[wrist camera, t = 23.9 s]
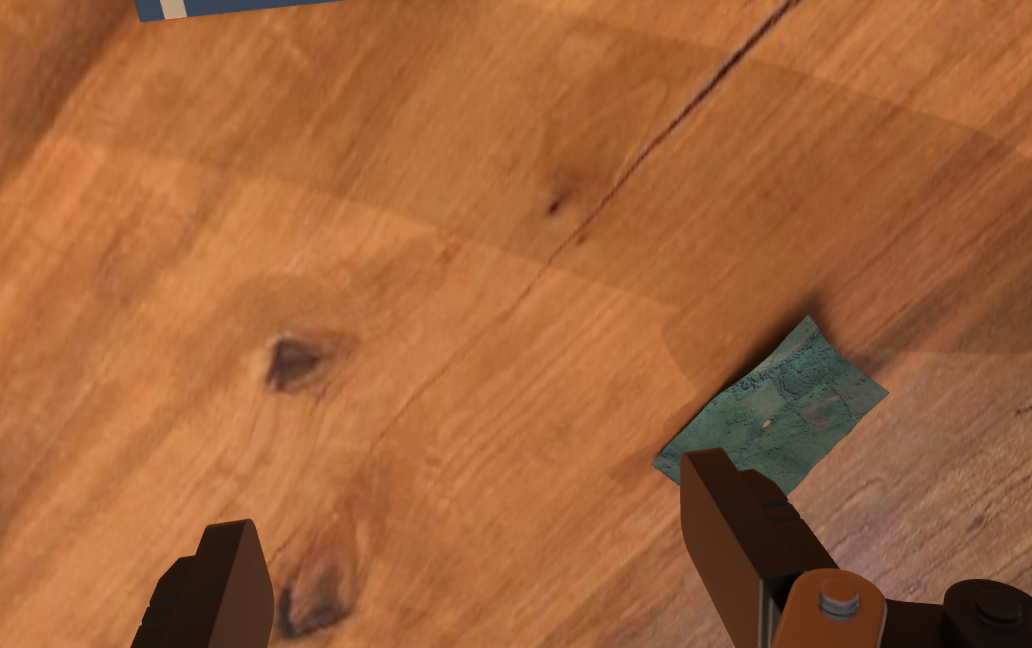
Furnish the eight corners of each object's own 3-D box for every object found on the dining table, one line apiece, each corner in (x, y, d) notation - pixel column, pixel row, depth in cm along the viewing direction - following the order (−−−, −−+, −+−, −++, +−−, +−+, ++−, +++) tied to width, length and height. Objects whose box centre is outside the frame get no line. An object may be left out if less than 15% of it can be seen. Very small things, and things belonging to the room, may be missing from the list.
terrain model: (733, 521, 51) (744, 539, 49) (647, 459, 49) (655, 475, 47) (879, 378, 48) (896, 392, 47) (796, 304, 46) (810, 316, 44)
